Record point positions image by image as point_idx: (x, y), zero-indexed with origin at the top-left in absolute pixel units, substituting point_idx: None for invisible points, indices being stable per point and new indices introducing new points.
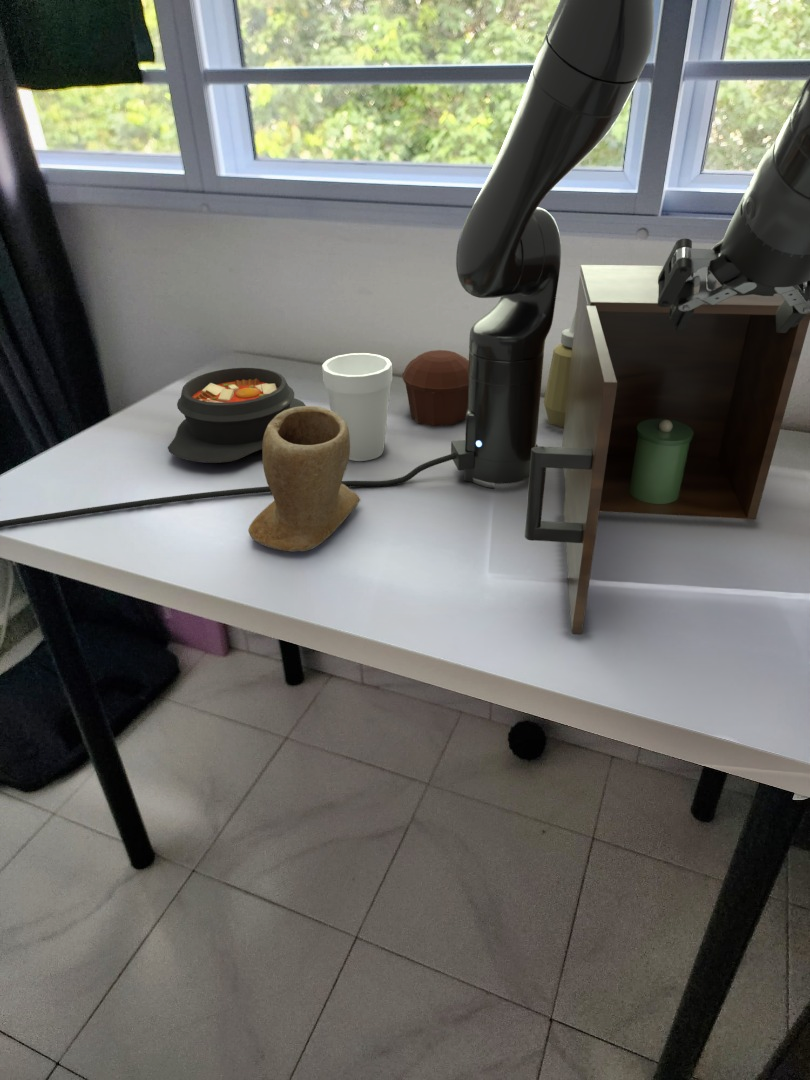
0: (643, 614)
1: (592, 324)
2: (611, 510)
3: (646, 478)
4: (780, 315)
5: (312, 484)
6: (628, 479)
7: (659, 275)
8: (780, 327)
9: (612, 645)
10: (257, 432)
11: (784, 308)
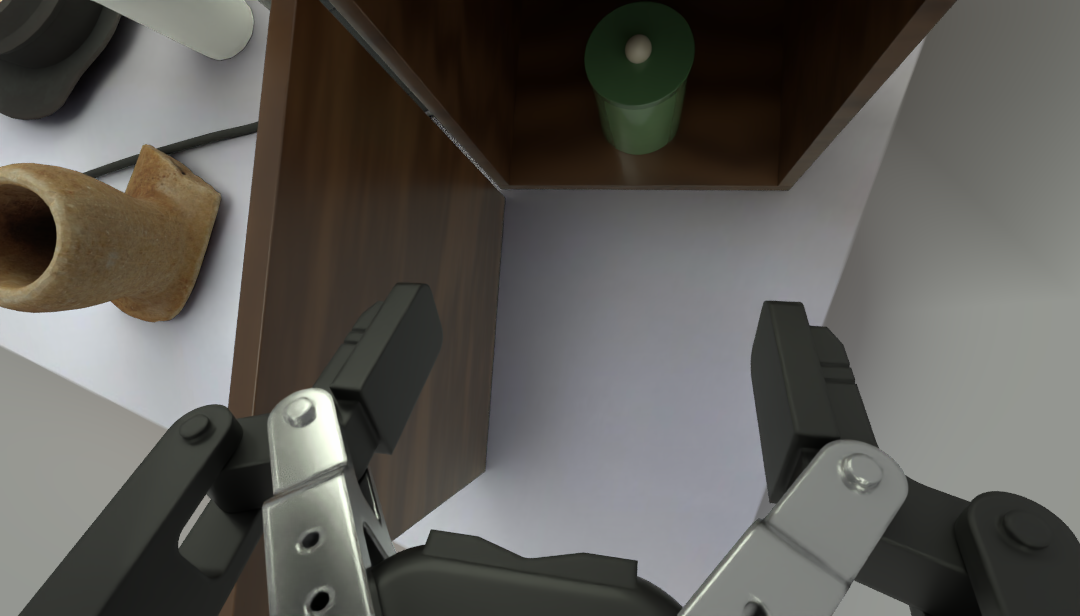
0: (568, 427)
1: (256, 170)
2: (562, 182)
3: (613, 131)
4: (764, 355)
5: (89, 304)
6: None
7: (160, 443)
8: (754, 389)
9: (519, 489)
10: (61, 42)
11: (771, 386)
